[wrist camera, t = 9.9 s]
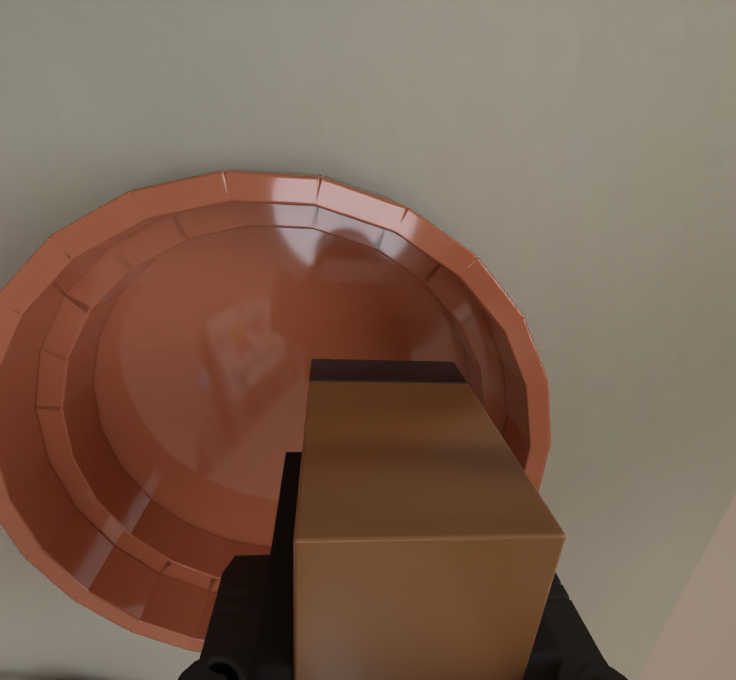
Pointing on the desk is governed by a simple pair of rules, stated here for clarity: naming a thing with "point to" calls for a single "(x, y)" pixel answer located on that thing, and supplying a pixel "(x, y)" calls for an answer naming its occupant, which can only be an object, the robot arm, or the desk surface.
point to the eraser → (413, 531)
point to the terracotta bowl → (219, 373)
